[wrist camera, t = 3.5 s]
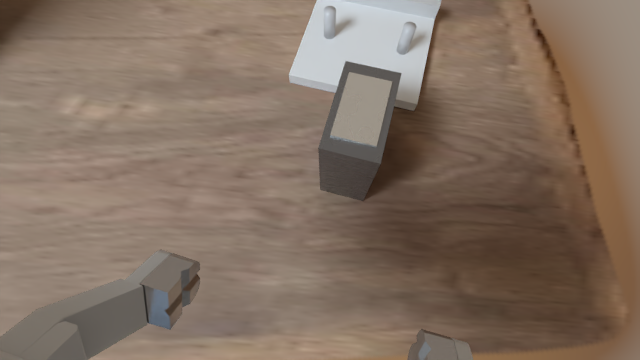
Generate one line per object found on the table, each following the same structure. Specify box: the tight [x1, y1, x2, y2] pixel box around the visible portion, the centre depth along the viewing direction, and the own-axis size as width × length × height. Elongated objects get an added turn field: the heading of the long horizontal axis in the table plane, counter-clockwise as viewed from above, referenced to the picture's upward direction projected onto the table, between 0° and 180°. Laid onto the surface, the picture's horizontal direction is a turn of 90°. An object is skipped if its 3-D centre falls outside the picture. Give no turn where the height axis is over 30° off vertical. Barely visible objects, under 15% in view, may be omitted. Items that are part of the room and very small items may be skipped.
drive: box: [318, 61, 402, 201], centre depth 24 cm, size 7×4×9 cm, turn 164°
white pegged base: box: [289, 0, 441, 111], centre depth 30 cm, size 12×13×4 cm
